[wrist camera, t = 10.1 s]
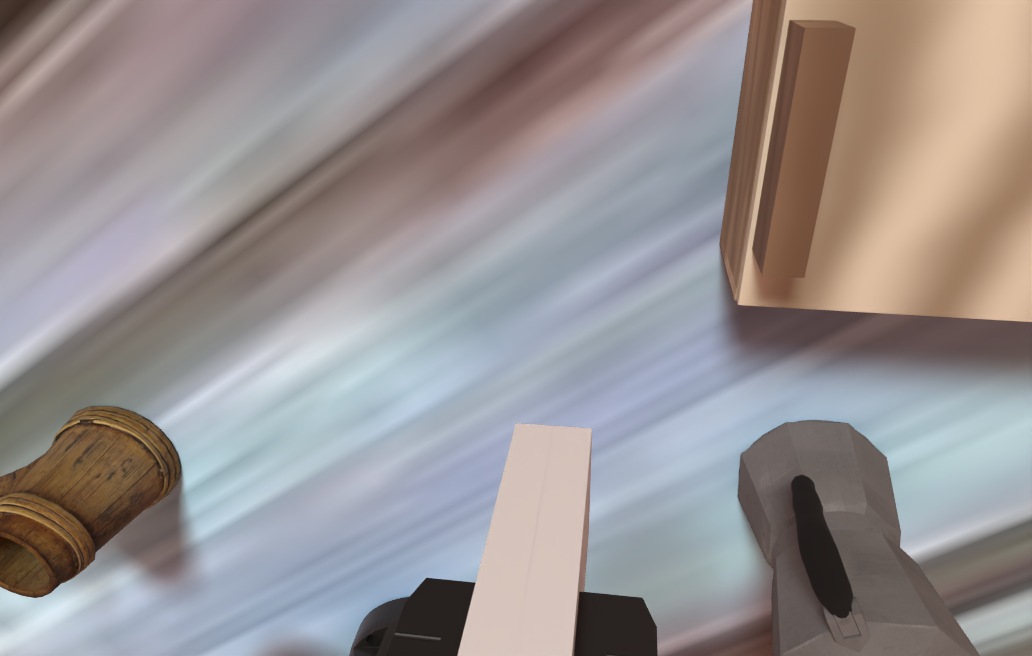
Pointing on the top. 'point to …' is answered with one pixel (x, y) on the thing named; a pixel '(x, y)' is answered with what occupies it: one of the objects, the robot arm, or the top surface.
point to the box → (748, 132)
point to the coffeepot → (838, 549)
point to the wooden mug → (80, 496)
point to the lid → (896, 161)
